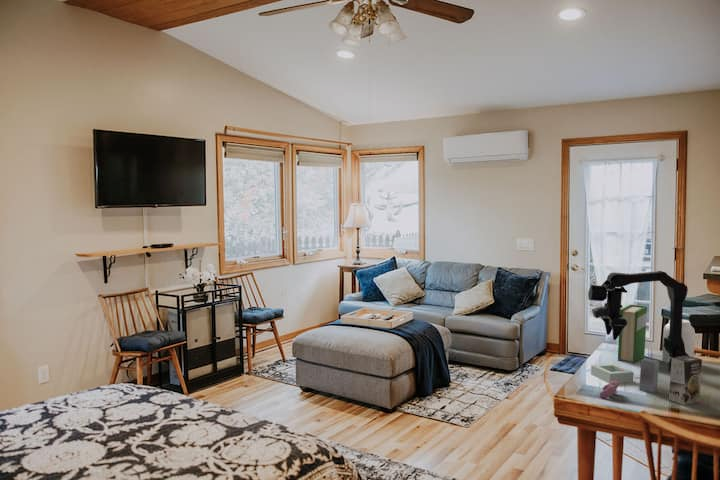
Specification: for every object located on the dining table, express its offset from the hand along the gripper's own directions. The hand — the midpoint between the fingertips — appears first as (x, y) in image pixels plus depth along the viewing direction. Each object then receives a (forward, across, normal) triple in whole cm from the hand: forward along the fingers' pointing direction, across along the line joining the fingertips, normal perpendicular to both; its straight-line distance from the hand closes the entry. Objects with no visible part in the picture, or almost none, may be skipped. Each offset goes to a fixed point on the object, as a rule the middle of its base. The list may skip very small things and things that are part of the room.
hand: (611, 337), depth 241 cm
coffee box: (+14, +36, +16) cm, 42 cm away
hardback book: (+14, -21, +16) cm, 30 cm away
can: (+14, -18, +35) cm, 42 cm away
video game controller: (+15, +35, -10) cm, 39 cm away
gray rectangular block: (+14, +26, +7) cm, 30 cm away
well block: (+14, +12, -2) cm, 19 cm away
